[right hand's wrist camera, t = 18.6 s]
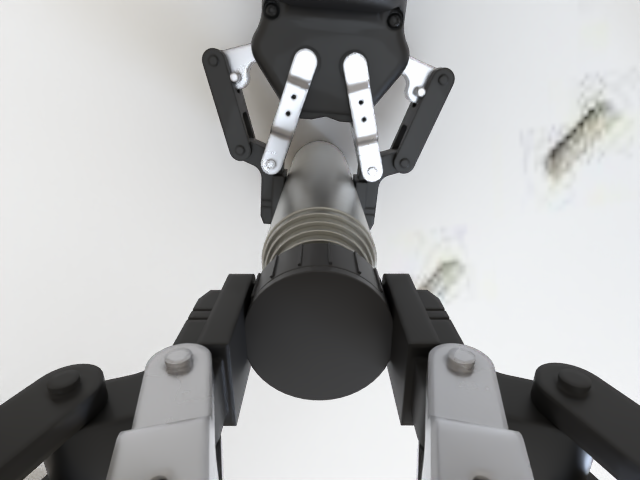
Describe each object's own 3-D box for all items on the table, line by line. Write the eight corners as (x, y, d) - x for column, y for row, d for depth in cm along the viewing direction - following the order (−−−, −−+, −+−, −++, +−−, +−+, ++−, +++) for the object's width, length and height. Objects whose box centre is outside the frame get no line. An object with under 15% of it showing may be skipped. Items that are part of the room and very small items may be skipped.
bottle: (355, 152, 30) (425, 288, 10) (335, 203, 32) (363, 411, 12) (302, 132, 30) (265, 235, 10) (284, 185, 31) (221, 371, 11)
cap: (407, 266, 12) (423, 298, 10) (356, 372, 13) (362, 417, 11) (275, 222, 11) (266, 248, 9) (236, 337, 13) (223, 378, 11)
